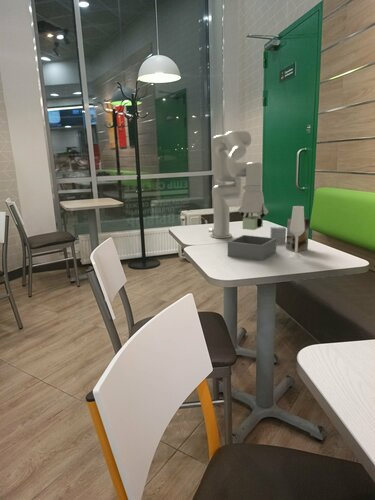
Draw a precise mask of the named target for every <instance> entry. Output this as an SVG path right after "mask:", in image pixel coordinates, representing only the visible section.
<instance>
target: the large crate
mask: <svg viewBox="0 0 375 500" xmlns="http://www.w3.org/2000/svg"><path fill="white" fill-rule="evenodd" d="M276 241H277V238H270V237H267V236H259V235H258V236H257V235H248V234H247V235H246V234H244V235H240V236H239V237H236V238H234V239H231V240H228V241H227V257H232V258H238V259H247V260H253V261H260V262H263V261H264V260H266V259H268V258H269V257H272V256H273V255H275V254H277V243H276Z"/></svg>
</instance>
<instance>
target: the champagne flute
mask: <svg viewBox="0 0 375 500" xmlns="http://www.w3.org/2000/svg"><path fill="white" fill-rule="evenodd" d="M291 211H292V212H291V217H290V218H291V225H290V232H291V233H292V234H293V235H294V236H295V237H296V239H295V251H294V252H293V253H291V254H290V255H288V258H291V259H302V258H304V256H303V255H302V254H300V253H299V252H298V251H297V250H298V237H299V236H300V235H302V234H303V232H304V231H305V225H304V218H305V207H304V206H303V205H294V206H292V210H291Z"/></svg>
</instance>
